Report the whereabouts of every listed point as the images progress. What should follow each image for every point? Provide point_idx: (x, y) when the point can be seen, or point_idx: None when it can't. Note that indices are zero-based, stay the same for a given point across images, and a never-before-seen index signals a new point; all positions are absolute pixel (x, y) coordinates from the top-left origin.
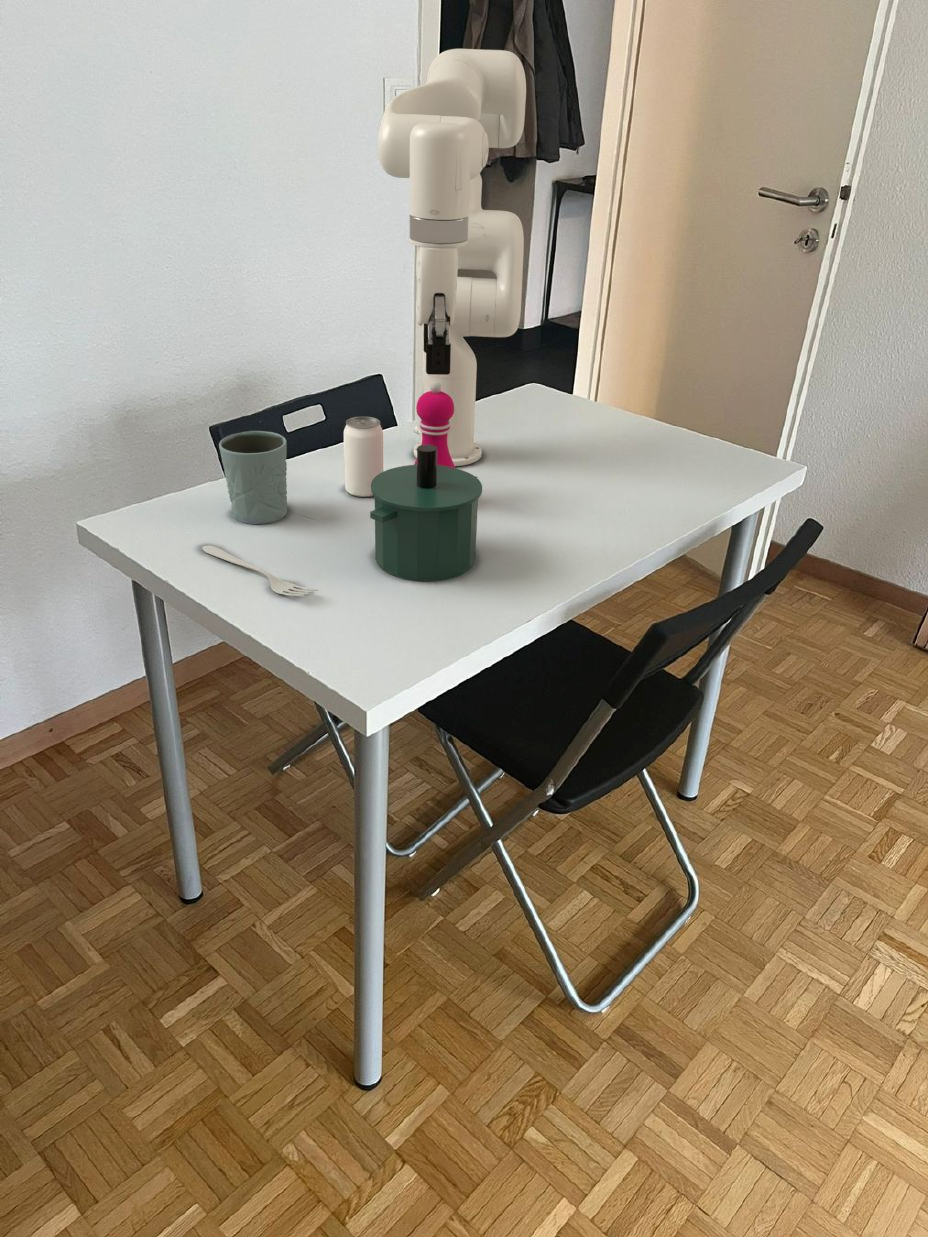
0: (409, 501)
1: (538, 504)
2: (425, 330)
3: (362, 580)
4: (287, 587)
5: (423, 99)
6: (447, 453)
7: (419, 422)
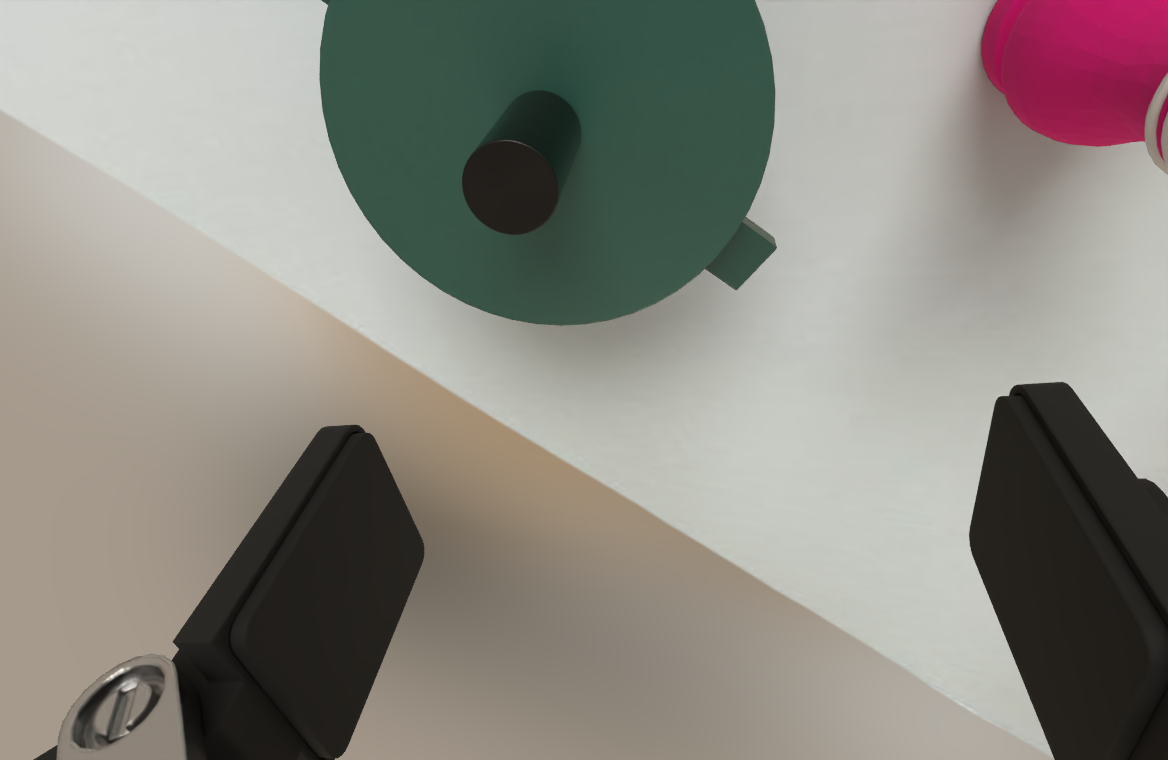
0: (362, 84)
1: (968, 356)
2: (1116, 590)
3: None
4: None
5: None
6: (1123, 136)
7: None
